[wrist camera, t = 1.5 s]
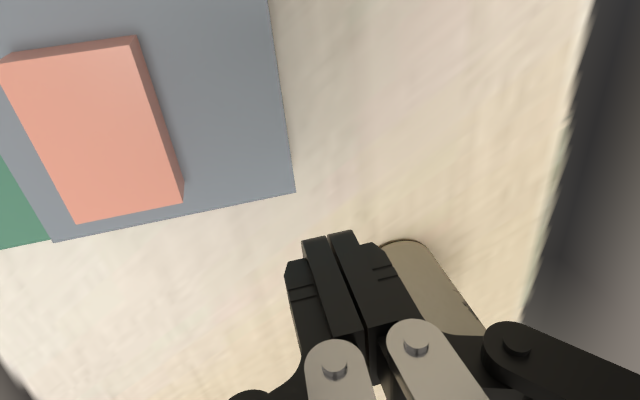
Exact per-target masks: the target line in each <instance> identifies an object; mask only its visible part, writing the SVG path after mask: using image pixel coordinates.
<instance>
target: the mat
mask: <svg viewBox="0 0 640 400" xmlns="http://www.w3.org/2000/svg"><path fill="white" fill-rule="evenodd" d="M45 240H50V237H49V235H48V234H47V232H46V230H45V229H44V227H43V225H42V224H41V222H40V220H39V219H38V217H37V215H36V214H35V212H34V210H33V209H32V207H31V205H30V204H29V202H28V200H27V198H26V197H25V195H24V193H23V192H22V190H21V188H20V187H19V185H18V183H17V182H16V180H15V178H14V177H13V175H12V173H11V172H10V170H9V168H8V167H7V165H6V163H5V162H4V160H3V158H2V157H1V155H0V250H2V249H7V248H12V247H16V246H21V245H26V244H31V243H36V242H40V241H45Z"/></svg>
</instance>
